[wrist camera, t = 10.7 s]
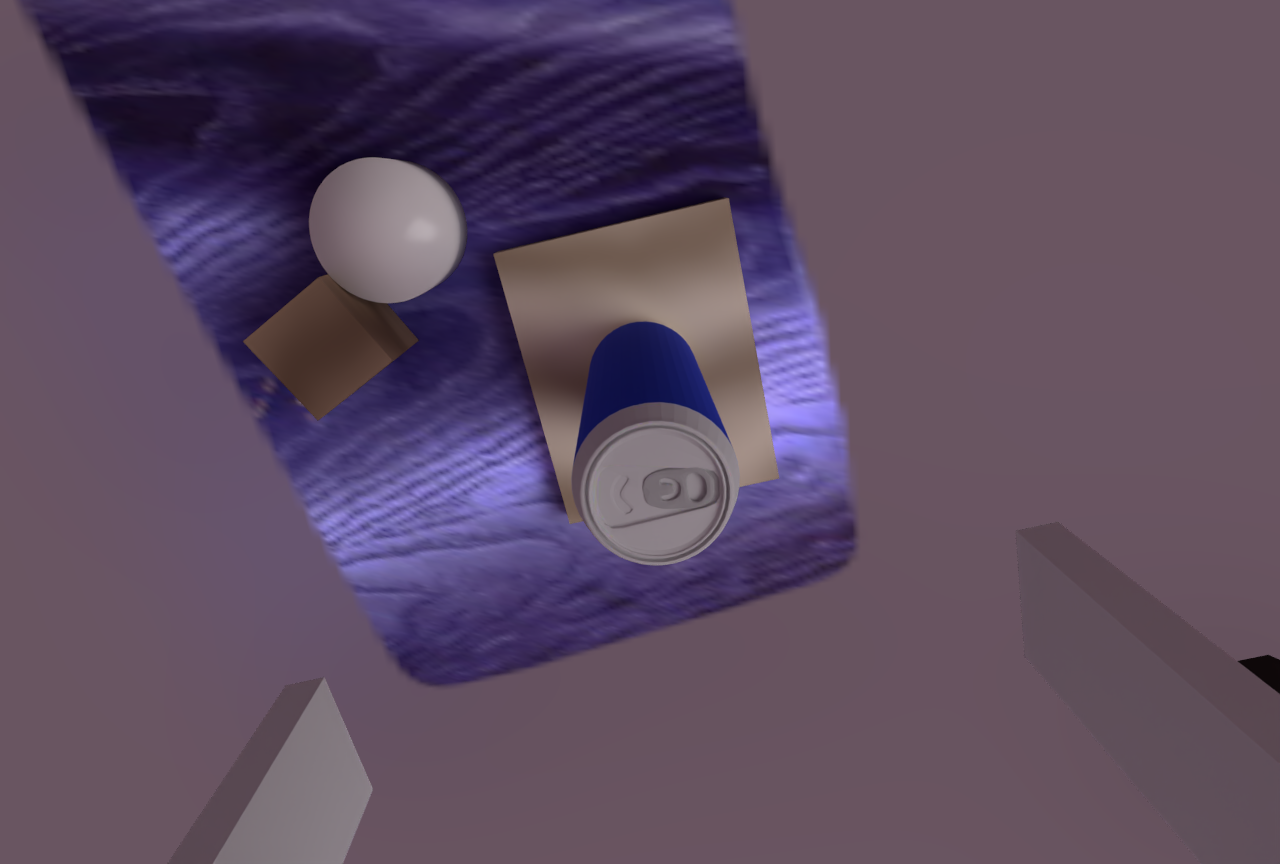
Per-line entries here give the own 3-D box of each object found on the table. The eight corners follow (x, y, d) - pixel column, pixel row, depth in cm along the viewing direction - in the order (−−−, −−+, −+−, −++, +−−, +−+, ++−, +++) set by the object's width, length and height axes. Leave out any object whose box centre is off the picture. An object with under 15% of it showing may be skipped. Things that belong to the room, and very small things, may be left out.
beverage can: (596, 428, 37) (581, 582, 23) (583, 325, 35) (557, 422, 21) (700, 416, 37) (749, 564, 23) (691, 313, 35) (739, 402, 21)
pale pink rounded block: (319, 177, 34) (287, 176, 31) (445, 146, 34) (426, 141, 31) (364, 305, 36) (338, 317, 33) (483, 276, 36) (469, 285, 33)
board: (497, 251, 35) (493, 253, 34) (725, 197, 35) (728, 197, 34) (571, 514, 40) (570, 523, 39) (774, 469, 39) (778, 478, 38)
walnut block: (287, 322, 36) (242, 341, 32) (354, 265, 36) (318, 277, 31) (352, 393, 37) (317, 420, 33) (419, 340, 37) (392, 360, 32)
